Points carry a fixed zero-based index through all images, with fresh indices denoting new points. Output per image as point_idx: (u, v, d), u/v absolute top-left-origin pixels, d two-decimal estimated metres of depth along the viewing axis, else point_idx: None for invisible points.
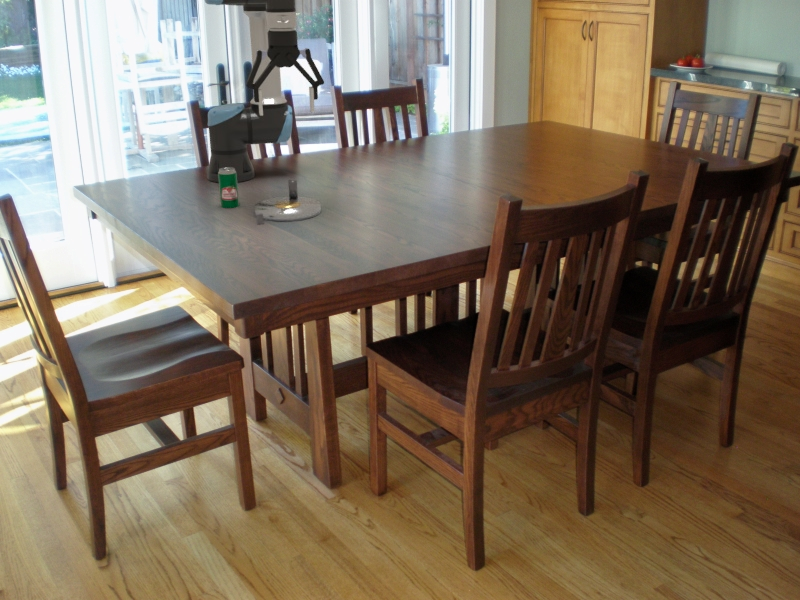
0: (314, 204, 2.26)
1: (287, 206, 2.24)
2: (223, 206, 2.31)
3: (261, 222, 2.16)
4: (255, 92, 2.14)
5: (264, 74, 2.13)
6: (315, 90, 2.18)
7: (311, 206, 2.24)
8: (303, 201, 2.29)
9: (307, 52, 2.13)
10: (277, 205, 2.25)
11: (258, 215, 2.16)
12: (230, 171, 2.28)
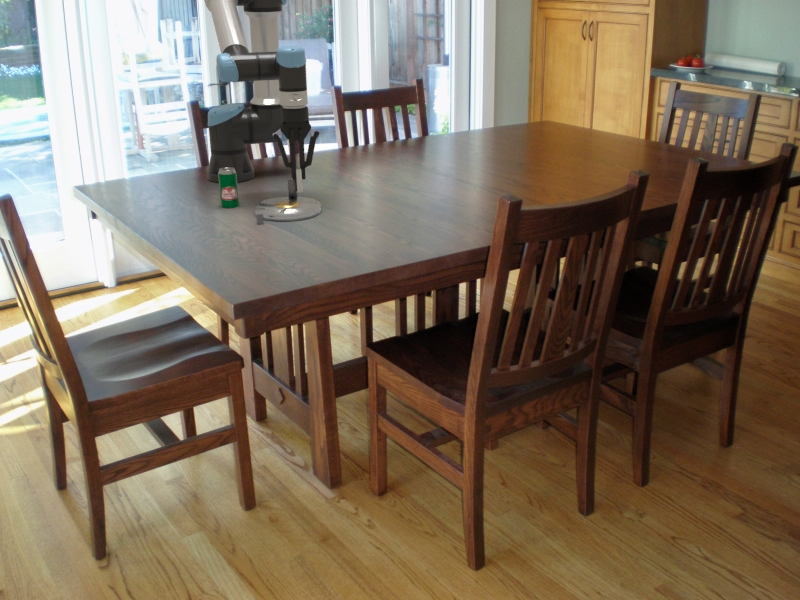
0: (314, 204, 2.26)
1: (287, 206, 2.24)
2: (223, 206, 2.31)
3: (261, 222, 2.16)
4: (293, 171, 2.29)
5: (292, 152, 2.27)
6: (303, 171, 2.30)
7: (311, 206, 2.25)
8: (302, 201, 2.30)
9: (316, 134, 2.27)
10: (277, 205, 2.25)
11: (258, 215, 2.16)
12: (230, 171, 2.28)
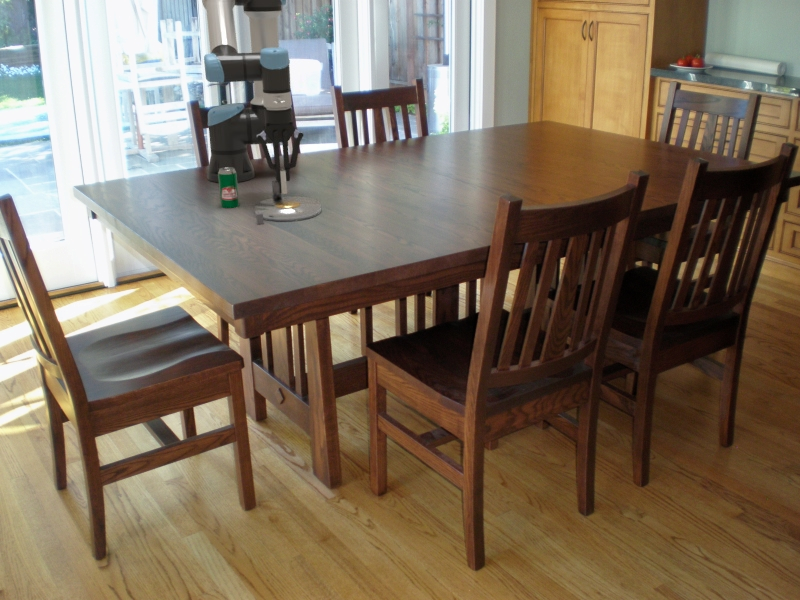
0: (310, 200, 2.30)
1: (292, 205, 2.24)
2: (223, 206, 2.31)
3: (261, 222, 2.16)
4: (277, 173, 2.28)
5: (276, 154, 2.26)
6: (287, 172, 2.29)
7: (312, 202, 2.28)
8: (293, 200, 2.31)
9: (300, 135, 2.26)
10: (280, 206, 2.24)
11: (258, 215, 2.16)
12: (230, 171, 2.28)
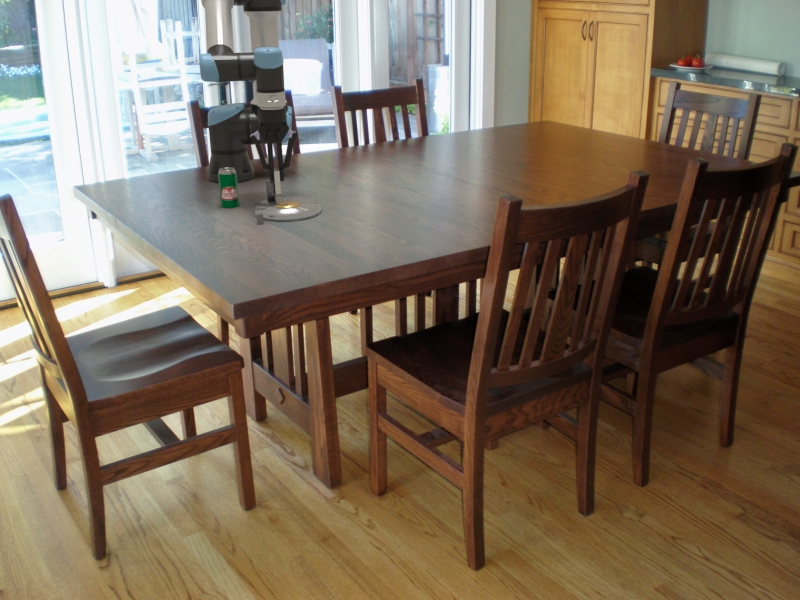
0: (306, 199, 2.31)
1: (293, 205, 2.25)
2: (223, 206, 2.31)
3: (261, 222, 2.16)
4: (271, 173, 2.28)
5: (269, 154, 2.25)
6: (281, 172, 2.28)
7: (309, 200, 2.30)
8: (288, 199, 2.31)
9: (294, 135, 2.25)
10: (283, 207, 2.23)
11: (258, 215, 2.16)
12: (230, 171, 2.28)
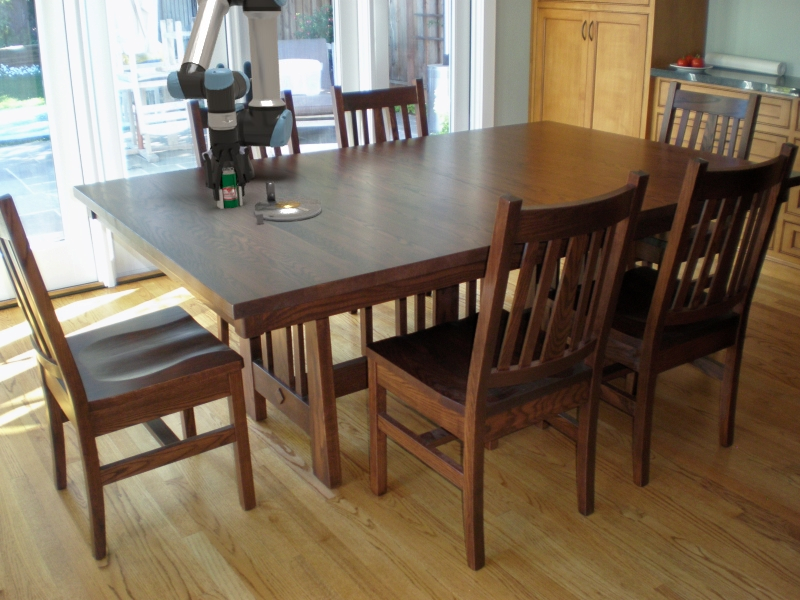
0: (306, 199, 2.31)
1: (293, 205, 2.25)
2: None
3: (261, 222, 2.16)
4: (216, 192, 2.29)
5: (218, 173, 2.27)
6: (242, 188, 2.33)
7: (309, 200, 2.30)
8: (288, 199, 2.31)
9: (246, 151, 2.30)
10: (283, 207, 2.23)
11: (258, 215, 2.16)
12: (230, 171, 2.28)
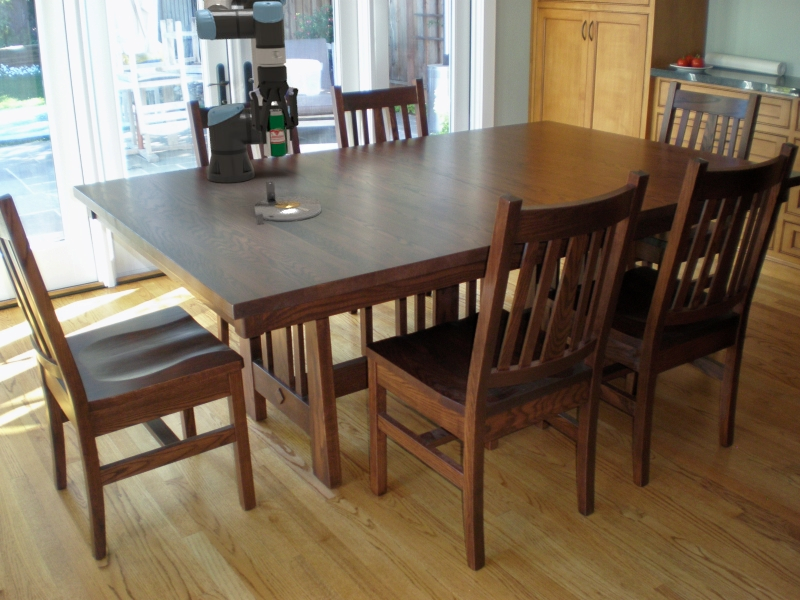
0: (306, 199, 2.31)
1: (293, 205, 2.25)
2: None
3: (261, 222, 2.16)
4: (263, 134, 2.16)
5: (266, 114, 2.14)
6: (290, 132, 2.20)
7: (309, 200, 2.30)
8: (288, 199, 2.31)
9: (295, 91, 2.17)
10: (283, 207, 2.23)
11: (258, 215, 2.16)
12: (278, 112, 2.15)
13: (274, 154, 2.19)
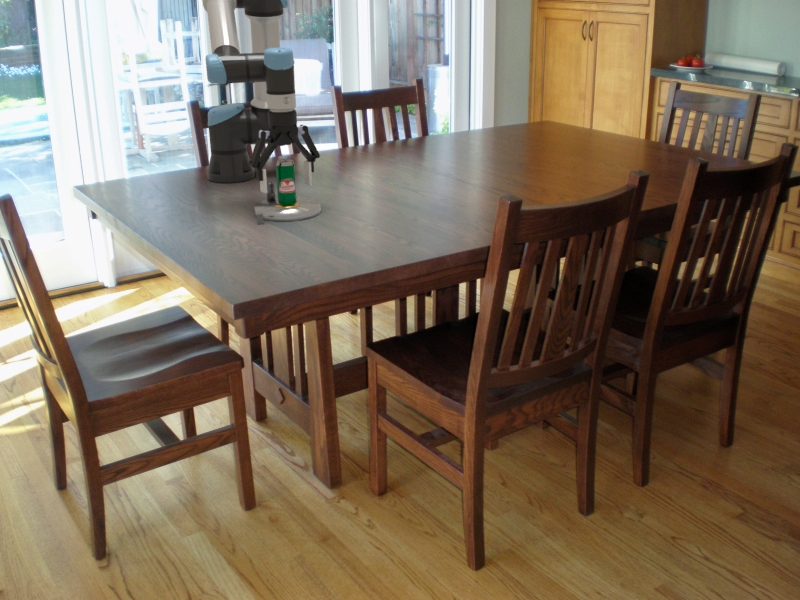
0: (306, 199, 2.31)
1: (293, 205, 2.25)
2: (280, 199, 2.23)
3: (261, 222, 2.16)
4: (259, 171, 2.18)
5: (268, 153, 2.17)
6: (311, 164, 2.26)
7: (309, 200, 2.30)
8: None
9: (305, 129, 2.21)
10: (283, 207, 2.23)
11: (258, 215, 2.16)
12: (289, 163, 2.20)
13: (285, 203, 2.23)
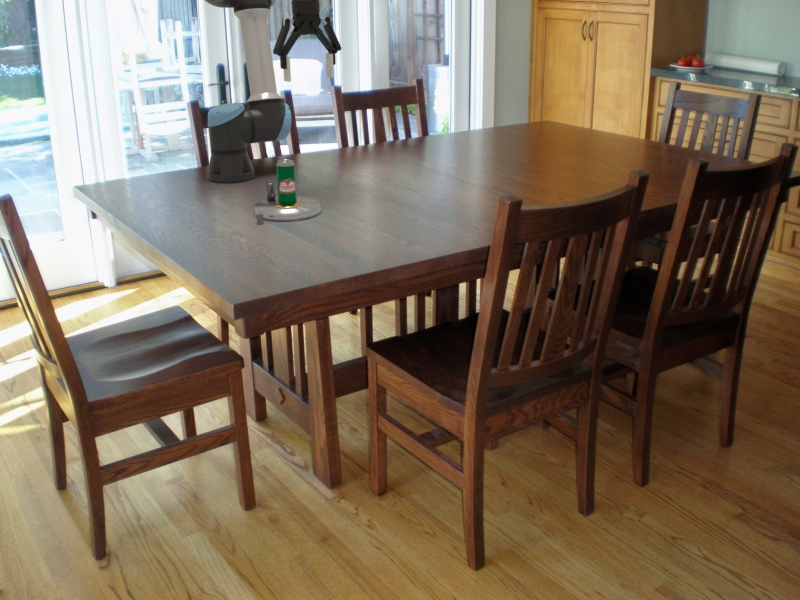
0: (306, 199, 2.31)
1: (293, 205, 2.25)
2: (280, 199, 2.23)
3: (261, 222, 2.16)
4: (283, 59, 2.24)
5: (292, 41, 2.23)
6: (333, 56, 2.32)
7: (309, 200, 2.30)
8: None
9: (327, 20, 2.27)
10: (283, 207, 2.23)
11: (258, 215, 2.16)
12: (289, 163, 2.20)
13: (285, 204, 2.23)
